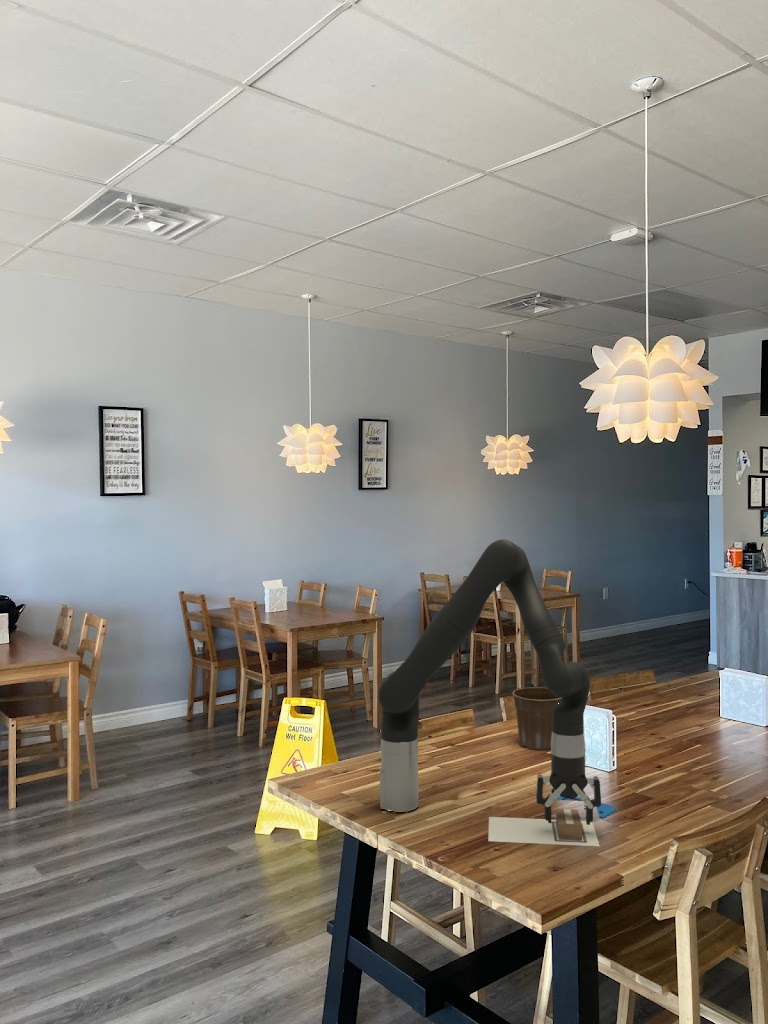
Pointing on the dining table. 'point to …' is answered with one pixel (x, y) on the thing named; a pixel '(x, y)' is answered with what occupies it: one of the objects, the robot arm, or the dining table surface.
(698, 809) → the dining table surface
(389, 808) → the robot arm
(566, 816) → the card box
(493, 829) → the mat
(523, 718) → the plant pot
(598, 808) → the handheld gaming device
